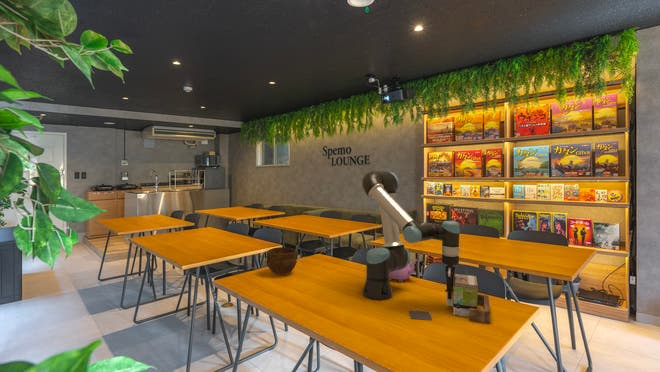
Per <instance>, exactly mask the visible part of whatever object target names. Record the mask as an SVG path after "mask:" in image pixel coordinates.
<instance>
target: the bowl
mask: <svg viewBox="0 0 660 372" xmlns="http://www.w3.org/2000/svg"><path fill="white" fill-rule="evenodd" d="M297 254H298V250H297V249H295V248H293V247H285V246H281V247H274V248H270V249H269V250H268V249H267V251H266V266H267V267H268V269H269V271H271V273H273V274H275V275H287V274H289V273H291V272H292V271H293V270H294V269H295V267H296V265H297V262H298V261H297V260H298V259H297Z"/></svg>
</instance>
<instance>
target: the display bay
mask: <svg viewBox="0 0 660 372" xmlns="http://www.w3.org/2000/svg"><path fill="white" fill-rule="evenodd" d="M477 306H482V307H483V309H481V308H480V309H478V308H477V309H473V308H469V317H468V318H469V319H468V321H469V322H475V323H480V324H491V307H490V298H489V295H488V294H487V295H486V294H482V293H478V295H477Z"/></svg>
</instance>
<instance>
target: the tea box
mask: <svg viewBox="0 0 660 372" xmlns="http://www.w3.org/2000/svg"><path fill="white" fill-rule="evenodd" d="M478 287H479V285H478V281H477V276H476V275H469V274H468V275H467V274H457V273H454V278H453V289H454V290H453V306H452V314H453V316H460V317H467V318H469V308H473V309H478V305H477V295H478V294H479V293H478V290H479V288H478Z"/></svg>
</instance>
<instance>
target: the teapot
mask: <svg viewBox="0 0 660 372" xmlns="http://www.w3.org/2000/svg"><path fill="white" fill-rule="evenodd" d="M417 261H418V259H414V260H412V261H411V265H410V263H409V264H408V266H407V267H405V268H403V269H401V270H396V271H393V272H389V279H390V280H389V281H392V279H393V280H397V281H398V283H403V282H404V280H409V278H410V277H411V276H412V274H413V273H414V271H415V268H416V266H415V265H416V264H415V263H416V262H417Z"/></svg>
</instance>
